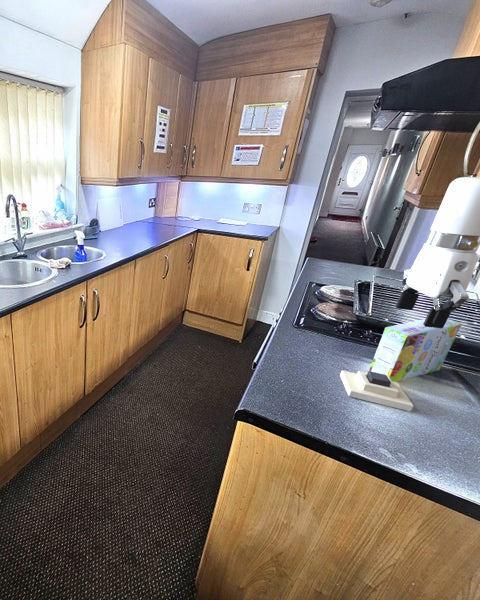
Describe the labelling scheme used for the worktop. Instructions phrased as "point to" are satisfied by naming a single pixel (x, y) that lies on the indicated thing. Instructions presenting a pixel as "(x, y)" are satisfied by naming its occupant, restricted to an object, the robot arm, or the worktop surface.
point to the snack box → (413, 349)
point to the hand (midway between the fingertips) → (417, 317)
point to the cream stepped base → (375, 391)
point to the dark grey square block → (378, 379)
